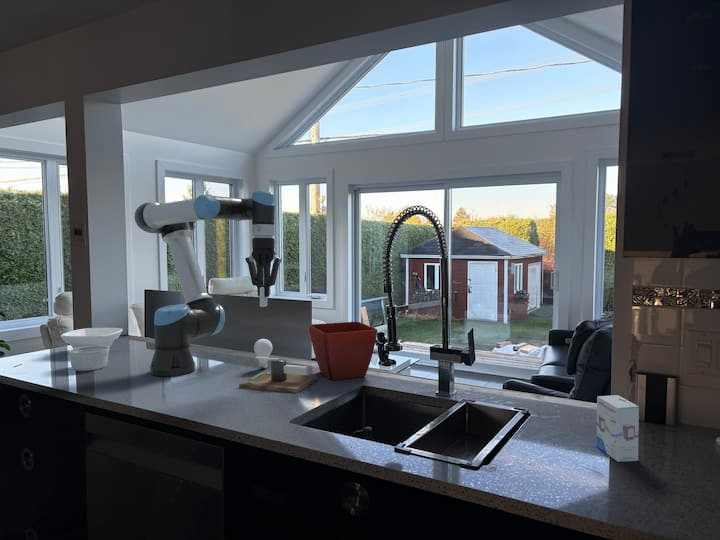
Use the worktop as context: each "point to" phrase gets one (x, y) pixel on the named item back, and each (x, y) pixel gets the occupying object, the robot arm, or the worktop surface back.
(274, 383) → the board
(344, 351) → the plant pot
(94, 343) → the bowl
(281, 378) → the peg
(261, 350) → the light bulb
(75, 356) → the ramekin
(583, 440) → the worktop surface
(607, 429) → the ink box
